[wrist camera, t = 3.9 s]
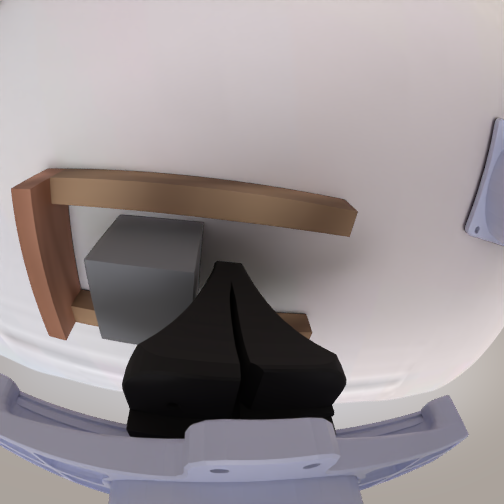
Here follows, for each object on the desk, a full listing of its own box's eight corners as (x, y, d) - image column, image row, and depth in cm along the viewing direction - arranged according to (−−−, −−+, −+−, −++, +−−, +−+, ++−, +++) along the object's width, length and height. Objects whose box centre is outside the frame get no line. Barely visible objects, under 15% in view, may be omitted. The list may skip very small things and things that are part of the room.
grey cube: (203, 222, 12) (194, 272, 9) (198, 292, 14) (191, 351, 11) (120, 214, 12) (84, 259, 8) (125, 284, 14) (101, 338, 10)
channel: (344, 199, 12) (373, 226, 10) (300, 328, 16) (311, 367, 14) (47, 168, 10) (10, 188, 8) (68, 301, 14) (49, 335, 12)
